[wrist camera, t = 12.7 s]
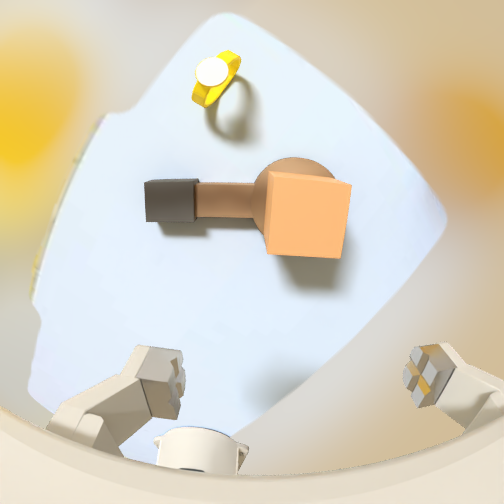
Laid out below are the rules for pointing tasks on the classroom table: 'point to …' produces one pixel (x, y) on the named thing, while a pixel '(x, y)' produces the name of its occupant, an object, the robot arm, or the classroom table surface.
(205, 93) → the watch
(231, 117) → the classroom table surface
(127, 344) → the classroom table surface
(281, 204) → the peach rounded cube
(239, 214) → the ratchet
